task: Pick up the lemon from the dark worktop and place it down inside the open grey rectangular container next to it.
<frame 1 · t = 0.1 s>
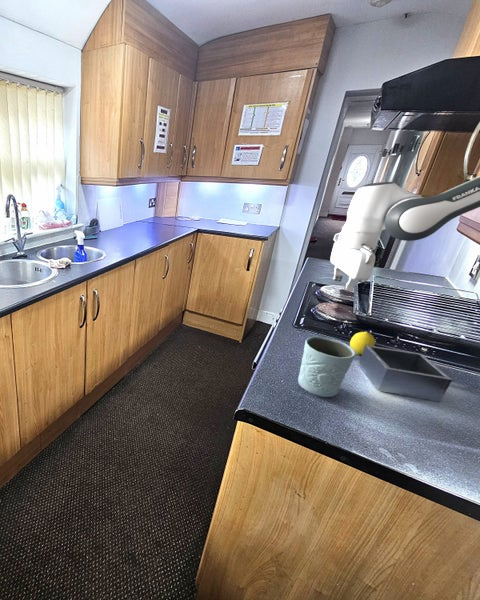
hand: (342, 285, 100), 20 cm above the worktop, tool pointing down, fingers open, 8 cm apart
pale green embossed cup: (315, 386, 85), on the worktop
lemon: (357, 355, 100), on the worktop
open grey rectangular container: (395, 381, 87), on the worktop
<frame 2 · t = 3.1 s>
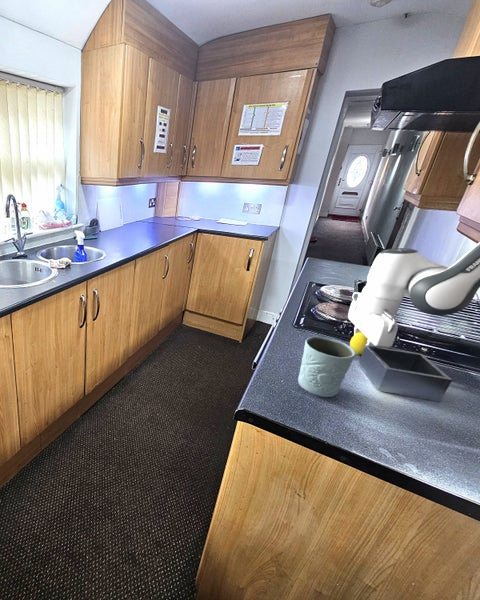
hand: (361, 345, 99), 3 cm above the worktop, tool pointing down, fingers closed on lemon, 5 cm apart
lemon: (357, 355, 100), on the worktop, touching gripper
everything else where it was.
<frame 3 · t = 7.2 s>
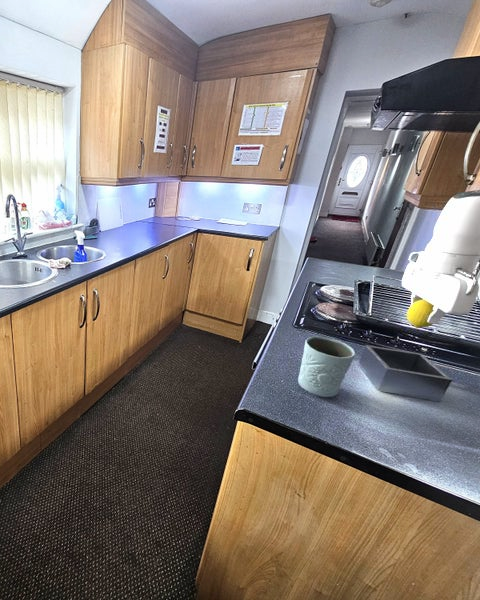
hand: (422, 316, 81), 19 cm above the worktop, tool pointing down, fingers closed on lemon, 5 cm apart
lemon: (416, 328, 83), point 16 cm above the worktop, touching gripper
everything else where it was.
when the fingers open (5 cm above the worktop, at t = 11.8 s): lemon stays where it is, resting on open grey rectangular container.
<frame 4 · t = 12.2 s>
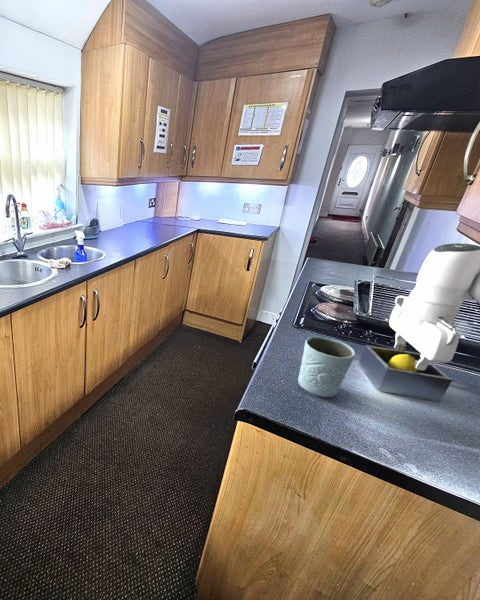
hand: (408, 358, 85), 7 cm above the worktop, tool pointing down, fingers open, 8 cm apart
lemon: (395, 380, 87), resting on open grey rectangular container
everything else where it was.
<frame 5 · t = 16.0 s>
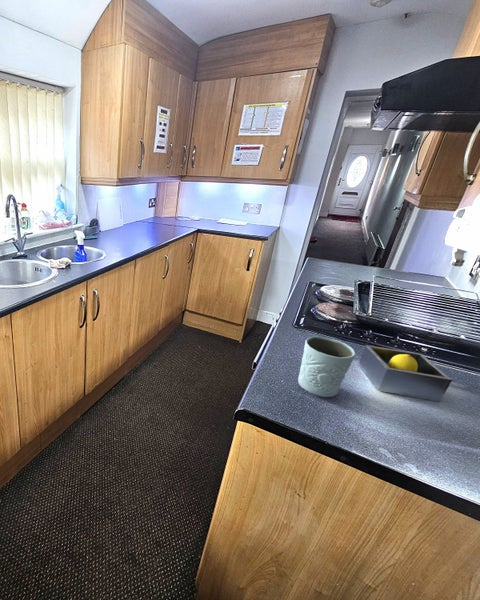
hand: (468, 270, 84), 29 cm above the worktop, tool pointing down, fingers open, 8 cm apart
nothing on the worktop moved.
at the end: lemon inside the target area in the open grey rectangular container (0.1 cm from its centre), point 0.4 cm above the open grey rectangular container's base; the gripper is holding nothing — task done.
